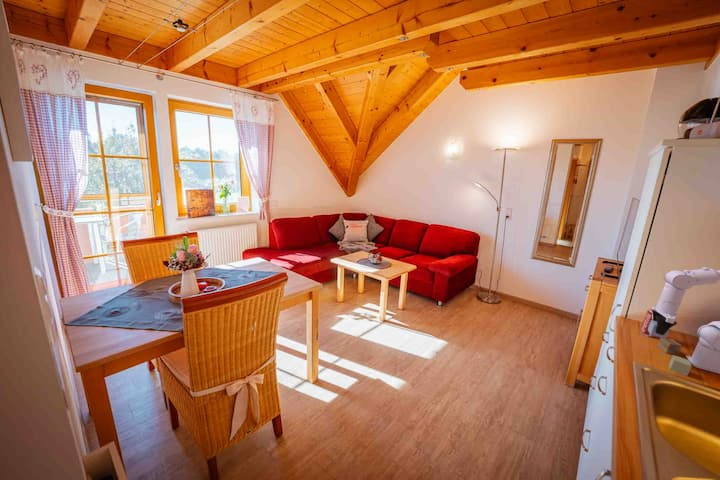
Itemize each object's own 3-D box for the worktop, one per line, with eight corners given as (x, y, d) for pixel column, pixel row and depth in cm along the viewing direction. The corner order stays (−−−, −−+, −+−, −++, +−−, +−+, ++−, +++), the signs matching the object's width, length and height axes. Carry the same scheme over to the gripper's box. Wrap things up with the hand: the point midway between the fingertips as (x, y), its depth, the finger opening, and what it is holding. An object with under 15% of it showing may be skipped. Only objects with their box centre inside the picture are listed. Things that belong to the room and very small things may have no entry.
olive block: (685, 370, 110) (689, 360, 109) (686, 376, 107) (691, 366, 106) (668, 364, 113) (672, 354, 112) (669, 370, 110) (674, 360, 109)
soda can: (636, 330, 136) (645, 307, 133) (647, 331, 136) (656, 308, 133) (646, 337, 131) (656, 313, 128) (658, 337, 131) (667, 314, 128)
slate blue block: (647, 329, 120) (651, 320, 119) (662, 333, 118) (666, 323, 117) (650, 334, 116) (654, 324, 115) (665, 338, 114) (669, 328, 113)
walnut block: (668, 348, 124) (672, 339, 123) (677, 354, 120) (682, 345, 119) (656, 346, 125) (660, 337, 123) (665, 353, 120) (669, 344, 119)
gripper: (651, 291, 121) (640, 319, 125) (661, 304, 109) (648, 335, 113) (674, 296, 117) (662, 325, 121) (687, 310, 105) (674, 342, 109)
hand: (657, 331), depth 117 cm, fingers closed on slate blue block, 4 cm apart
